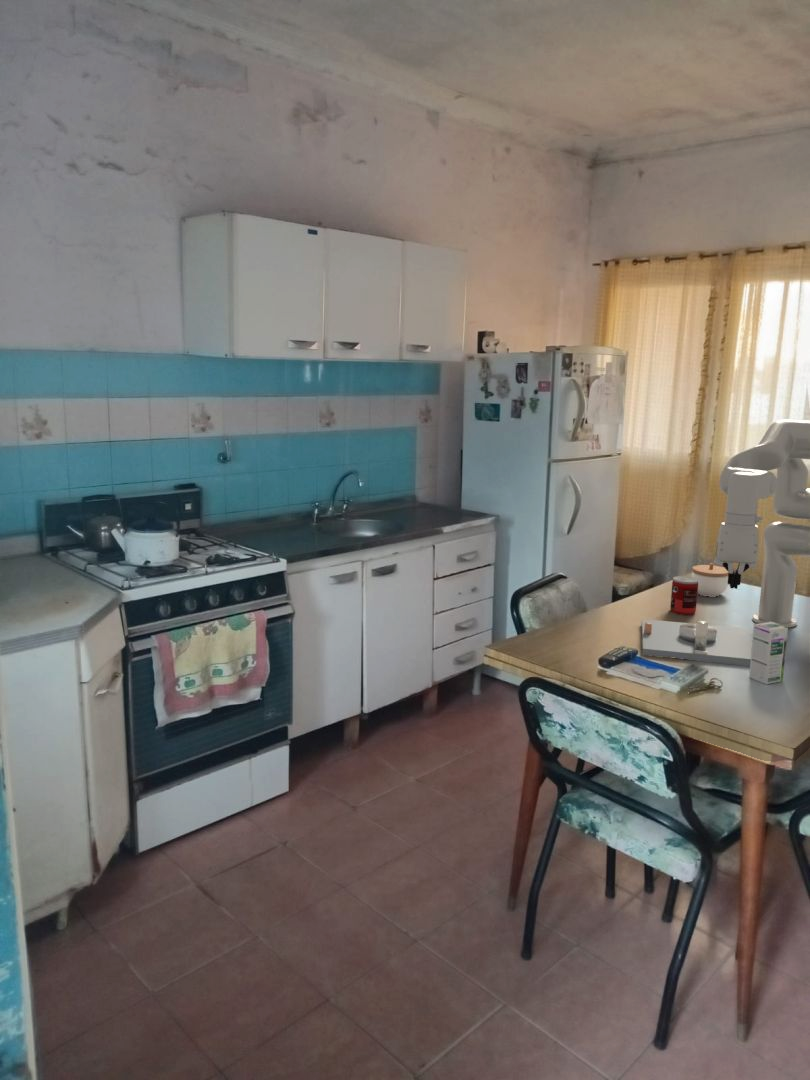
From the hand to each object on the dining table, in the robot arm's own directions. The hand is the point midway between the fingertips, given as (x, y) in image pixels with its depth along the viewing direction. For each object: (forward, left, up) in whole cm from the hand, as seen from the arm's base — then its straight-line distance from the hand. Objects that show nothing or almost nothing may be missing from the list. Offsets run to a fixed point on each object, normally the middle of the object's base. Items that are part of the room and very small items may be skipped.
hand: (733, 587), depth 219 cm
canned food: (-43, -9, -21) cm, 49 cm away
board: (-10, -7, -20) cm, 24 cm away
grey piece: (-7, -7, -18) cm, 21 cm away
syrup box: (+13, +8, -21) cm, 26 cm away
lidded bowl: (-68, +1, -21) cm, 71 cm away
